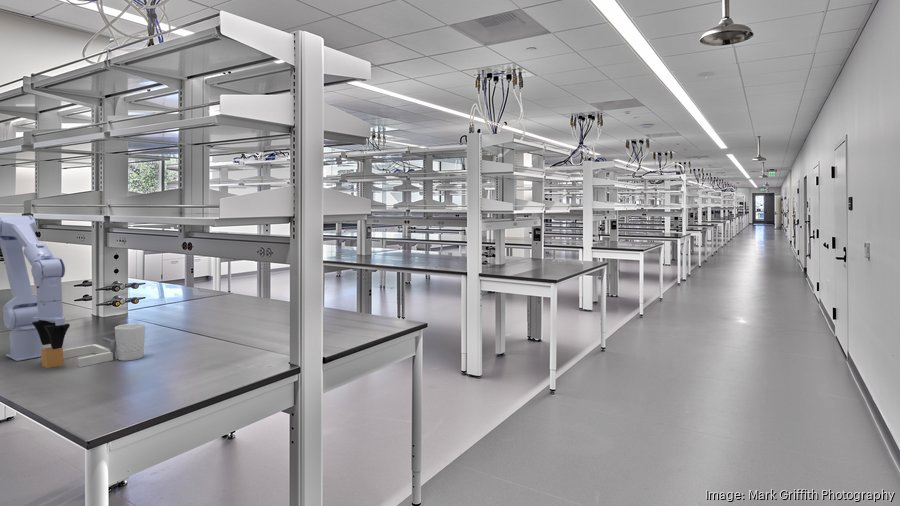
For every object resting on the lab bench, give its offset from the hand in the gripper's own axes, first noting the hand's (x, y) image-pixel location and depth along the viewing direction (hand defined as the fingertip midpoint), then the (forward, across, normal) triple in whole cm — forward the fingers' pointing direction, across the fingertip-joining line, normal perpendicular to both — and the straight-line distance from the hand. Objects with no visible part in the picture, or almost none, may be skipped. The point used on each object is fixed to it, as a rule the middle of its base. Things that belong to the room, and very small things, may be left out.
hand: (52, 346), depth 147 cm
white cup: (+6, +9, +17) cm, 20 cm away
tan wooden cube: (+6, 0, 0) cm, 6 cm away
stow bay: (+6, +1, +8) cm, 10 cm away
